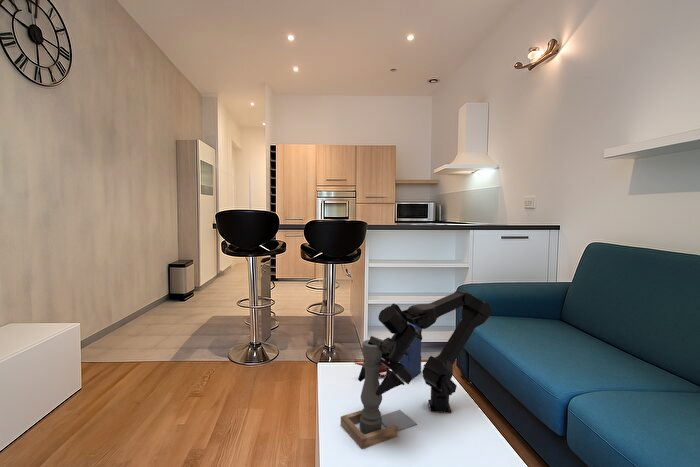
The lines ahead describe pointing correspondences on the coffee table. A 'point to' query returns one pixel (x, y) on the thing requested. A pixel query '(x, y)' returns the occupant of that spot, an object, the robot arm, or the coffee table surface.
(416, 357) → the electronic device
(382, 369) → the decorative bird figurine
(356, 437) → the wooden u-shaped frame
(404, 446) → the coffee table surface
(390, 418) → the mat
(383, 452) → the coffee table surface
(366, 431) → the candle holder
